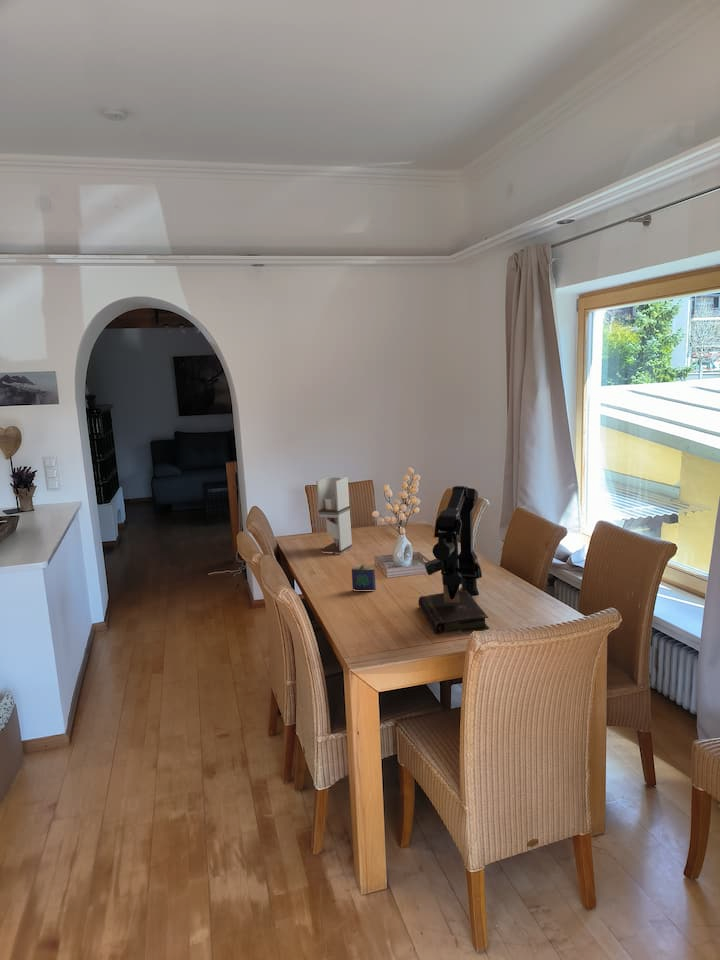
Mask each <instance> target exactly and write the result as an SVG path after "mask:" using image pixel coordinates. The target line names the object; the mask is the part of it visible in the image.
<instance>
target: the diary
mask: <svg viewBox="0 0 720 960" xmlns="http://www.w3.org/2000/svg"><path fill="white" fill-rule="evenodd" d="M459 597H460V602H448V603H445V602H444V592H440V593H435V594H430V595H429V594H428V595H421V596H419V597H418V600H417V601H418V606H419V608H420V609H421V611H422V612H423V614H424V616H425V618H426V619H427V622H428V624H430V627H432V630H433V632H434V633H435V635H436V636H437V634H439V633H438V630H439V632H440V633H441V634H444V633H445V632H446V633H452V632H453V633H455V632H462V633H464V632H465V633H466V632H474V631H473V630H476V631H484V630H487V629H490V626H488V625H487V623H486V619H489V616H488V615H487V614H486V612H485V611H484V610H483V609H482V608H481V607H480V605H479V604H478V603H477V602H476V600H475V599H474V597H473V596H472V595H470V594H469V593H468V591H467V590H466V591H460V590H459ZM443 631H444V632H443Z"/></svg>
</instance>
